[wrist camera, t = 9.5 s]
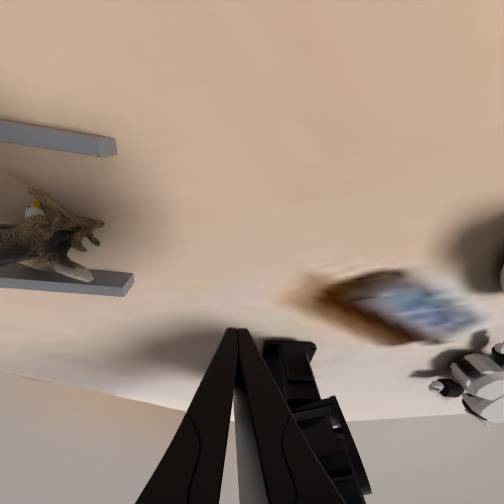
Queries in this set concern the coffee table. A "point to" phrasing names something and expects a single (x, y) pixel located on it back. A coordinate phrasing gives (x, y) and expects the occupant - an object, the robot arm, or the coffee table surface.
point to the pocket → (54, 281)
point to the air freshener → (502, 278)
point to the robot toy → (477, 385)
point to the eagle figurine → (48, 239)
